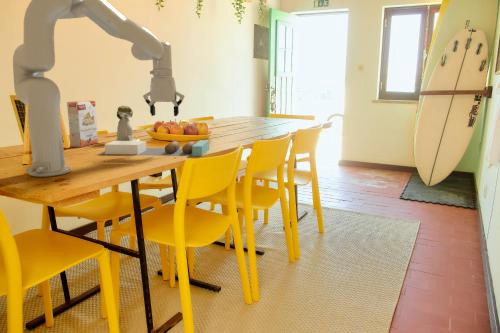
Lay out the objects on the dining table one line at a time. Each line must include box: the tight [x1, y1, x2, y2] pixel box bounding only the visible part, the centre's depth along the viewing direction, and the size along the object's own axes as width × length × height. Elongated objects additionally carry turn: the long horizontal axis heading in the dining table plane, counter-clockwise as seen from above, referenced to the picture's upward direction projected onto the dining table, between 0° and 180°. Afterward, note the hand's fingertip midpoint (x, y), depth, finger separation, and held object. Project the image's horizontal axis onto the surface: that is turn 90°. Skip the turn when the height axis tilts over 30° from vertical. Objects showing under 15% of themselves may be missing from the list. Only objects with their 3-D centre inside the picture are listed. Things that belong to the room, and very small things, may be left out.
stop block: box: [191, 139, 210, 157], centre depth 164 cm, size 16×4×4 cm, turn 175°
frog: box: [113, 105, 142, 141], centre depth 189 cm, size 12×13×18 cm
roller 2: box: [181, 140, 197, 154], centre depth 164 cm, size 9×4×4 cm, turn 175°
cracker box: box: [66, 100, 99, 148], centre depth 183 cm, size 14×6×21 cm, turn 168°
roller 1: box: [164, 140, 181, 154], centre depth 165 cm, size 9×4×4 cm, turn 175°
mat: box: [98, 147, 193, 157], centre depth 166 cm, size 16×44×1 cm, turn 85°
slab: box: [104, 140, 147, 156], centre depth 164 cm, size 10×14×4 cm
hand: (164, 115), depth 162 cm, fingers open, 9 cm apart
